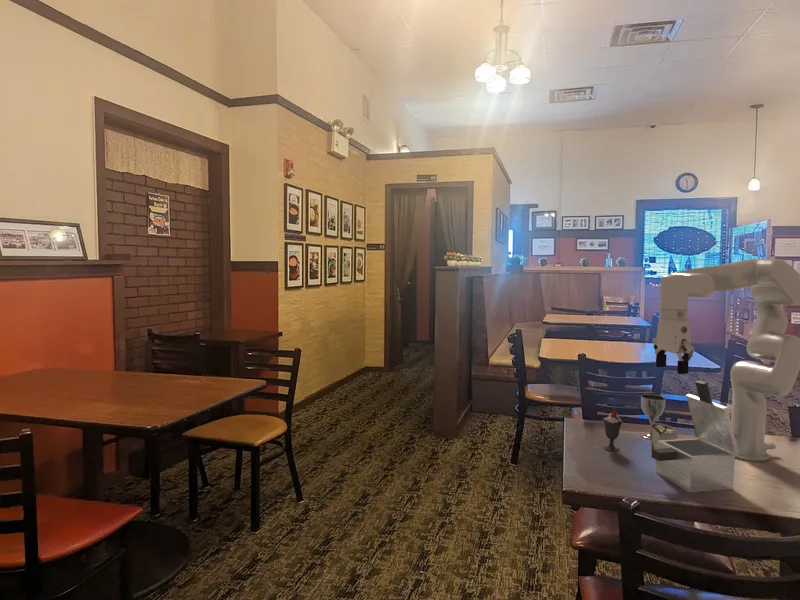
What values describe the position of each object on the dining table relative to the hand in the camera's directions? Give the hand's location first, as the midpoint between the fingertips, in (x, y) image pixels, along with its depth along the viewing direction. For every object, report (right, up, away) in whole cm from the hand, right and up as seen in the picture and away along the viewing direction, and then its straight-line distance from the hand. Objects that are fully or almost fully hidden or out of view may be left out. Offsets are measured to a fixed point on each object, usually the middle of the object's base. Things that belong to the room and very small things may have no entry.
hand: (671, 370), depth 160 cm
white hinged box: (0, -32, -7) cm, 32 cm away
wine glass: (+9, -29, +31) cm, 43 cm away
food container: (+3, -31, +11) cm, 33 cm away
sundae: (-11, -30, +18) cm, 36 cm away
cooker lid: (+6, -12, -8) cm, 16 cm away
